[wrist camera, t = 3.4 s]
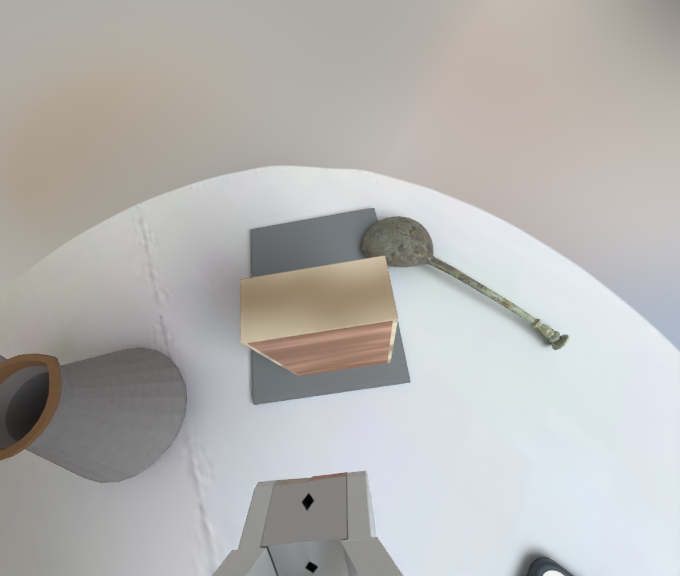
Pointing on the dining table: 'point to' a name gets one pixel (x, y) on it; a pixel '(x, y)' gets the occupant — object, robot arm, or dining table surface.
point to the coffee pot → (92, 411)
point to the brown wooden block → (321, 316)
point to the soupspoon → (432, 262)
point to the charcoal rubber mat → (307, 252)
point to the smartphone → (546, 568)
